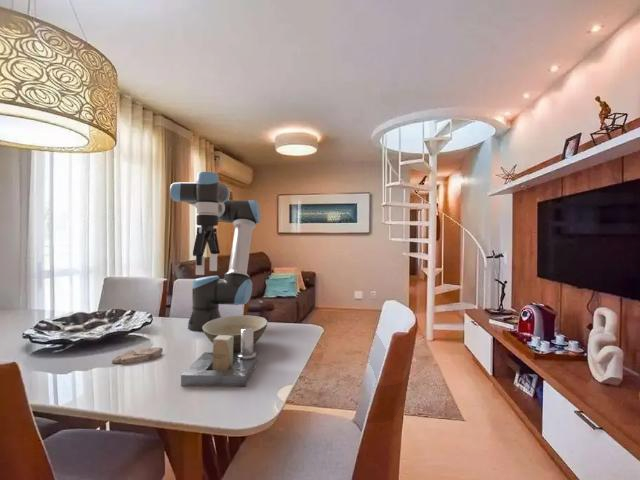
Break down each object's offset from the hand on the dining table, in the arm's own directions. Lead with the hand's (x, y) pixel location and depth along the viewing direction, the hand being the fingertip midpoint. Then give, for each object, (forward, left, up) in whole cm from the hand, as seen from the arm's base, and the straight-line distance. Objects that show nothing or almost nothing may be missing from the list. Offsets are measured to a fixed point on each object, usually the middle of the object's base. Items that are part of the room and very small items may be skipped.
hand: (207, 272), depth 119 cm
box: (+19, +12, -29) cm, 37 cm away
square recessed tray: (+19, +12, -29) cm, 36 cm away
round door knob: (+13, +18, -29) cm, 36 cm away
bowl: (-3, +10, -29) cm, 31 cm away
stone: (+8, -21, -29) cm, 37 cm away
